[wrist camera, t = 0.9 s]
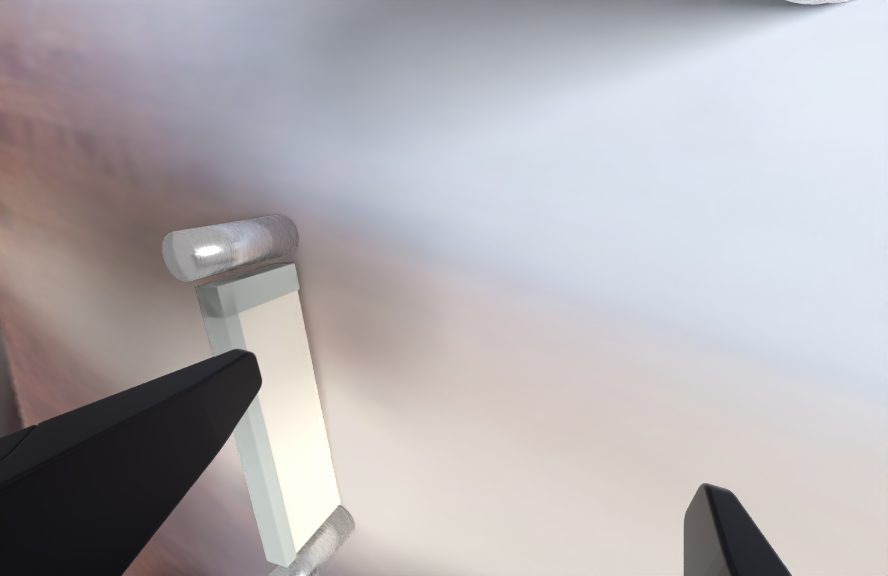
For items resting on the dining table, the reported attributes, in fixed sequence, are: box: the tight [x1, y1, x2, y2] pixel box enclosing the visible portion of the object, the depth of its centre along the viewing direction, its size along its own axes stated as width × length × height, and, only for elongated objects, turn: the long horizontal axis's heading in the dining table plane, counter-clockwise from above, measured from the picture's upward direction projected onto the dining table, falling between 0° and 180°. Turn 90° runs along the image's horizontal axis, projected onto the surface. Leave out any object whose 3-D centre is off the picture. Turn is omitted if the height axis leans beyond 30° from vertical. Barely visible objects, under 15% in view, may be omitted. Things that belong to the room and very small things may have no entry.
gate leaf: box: [195, 263, 340, 568], centre depth 26 cm, size 17×2×5 cm, turn 7°
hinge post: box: [268, 506, 354, 576], centre depth 28 cm, size 2×2×6 cm
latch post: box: [162, 214, 298, 282], centre depth 23 cm, size 2×2×6 cm
